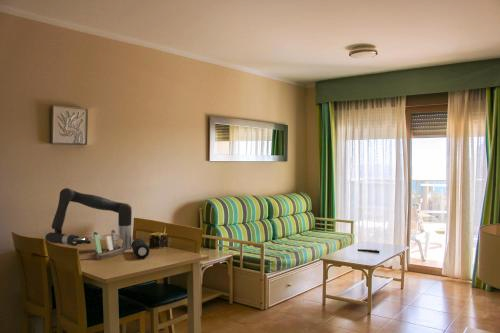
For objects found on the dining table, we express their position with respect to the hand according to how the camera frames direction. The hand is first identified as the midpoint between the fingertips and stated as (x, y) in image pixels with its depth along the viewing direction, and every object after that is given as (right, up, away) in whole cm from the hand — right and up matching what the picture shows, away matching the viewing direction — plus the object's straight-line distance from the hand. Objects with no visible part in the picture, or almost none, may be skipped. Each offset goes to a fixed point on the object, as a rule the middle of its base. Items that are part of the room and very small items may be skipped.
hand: (90, 242), depth 285 cm
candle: (+38, -11, +39) cm, 55 cm away
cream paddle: (+12, -7, +7) cm, 15 cm away
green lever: (+7, -7, -3) cm, 11 cm away
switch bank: (+11, -10, +5) cm, 15 cm away
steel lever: (+14, -7, +12) cm, 20 cm away
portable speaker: (+32, -11, +9) cm, 35 cm away
